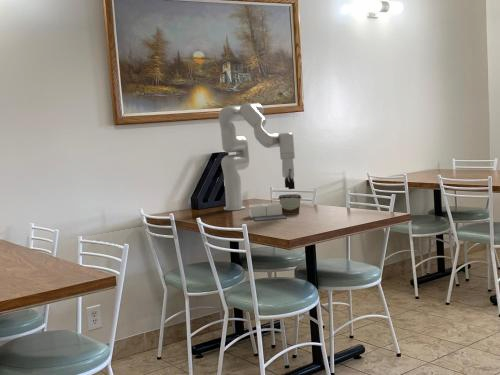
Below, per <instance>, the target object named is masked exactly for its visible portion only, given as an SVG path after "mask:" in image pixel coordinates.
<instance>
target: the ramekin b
mask: <svg viewBox="0 0 500 375" xmlns="http://www.w3.org/2000/svg"><path fill="white" fill-rule="evenodd" d="M263 204H264V205H265V206H266V215H267V216H272V215H282V204H280V202H270V203H263Z"/></svg>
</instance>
